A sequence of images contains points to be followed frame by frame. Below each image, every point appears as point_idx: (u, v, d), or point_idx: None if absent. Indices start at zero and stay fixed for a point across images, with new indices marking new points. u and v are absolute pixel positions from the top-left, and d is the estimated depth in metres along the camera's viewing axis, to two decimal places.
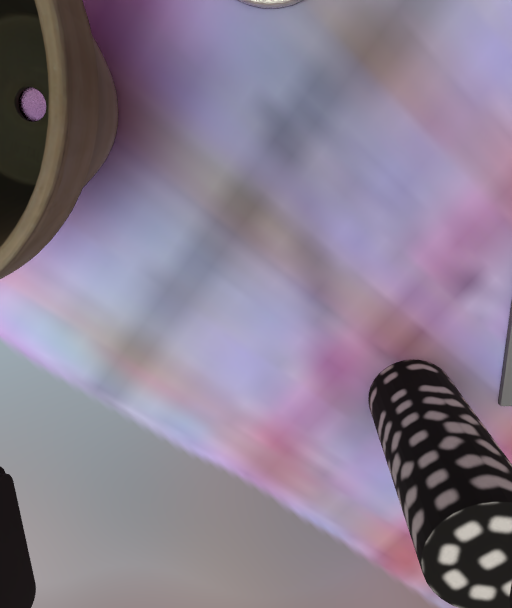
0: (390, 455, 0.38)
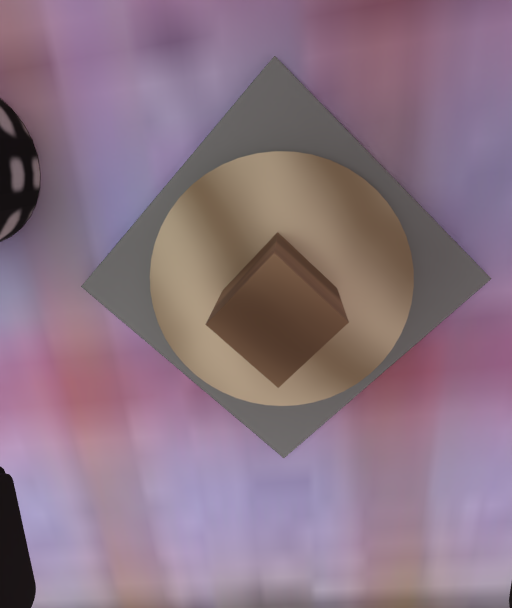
0: None
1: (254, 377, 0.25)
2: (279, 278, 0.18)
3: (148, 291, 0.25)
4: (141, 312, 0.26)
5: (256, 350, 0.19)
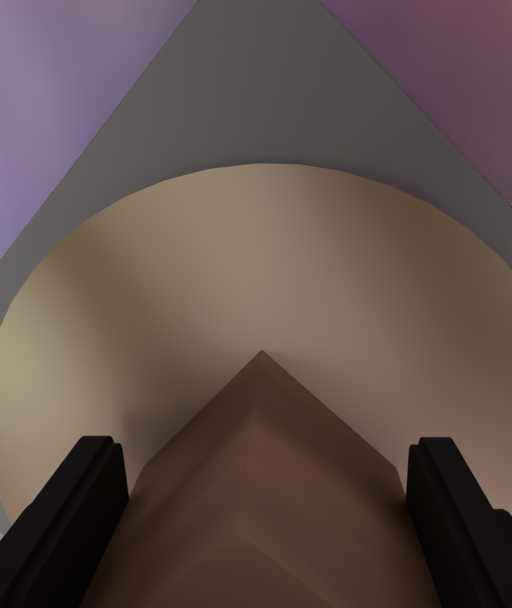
0: None
1: None
2: (256, 602, 0.05)
3: None
4: None
5: None
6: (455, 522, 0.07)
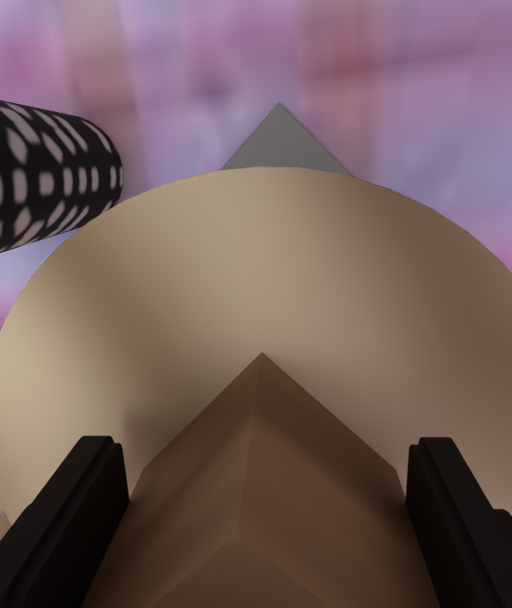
0: None
1: None
2: (256, 604, 0.05)
3: None
4: None
5: None
6: (455, 522, 0.07)
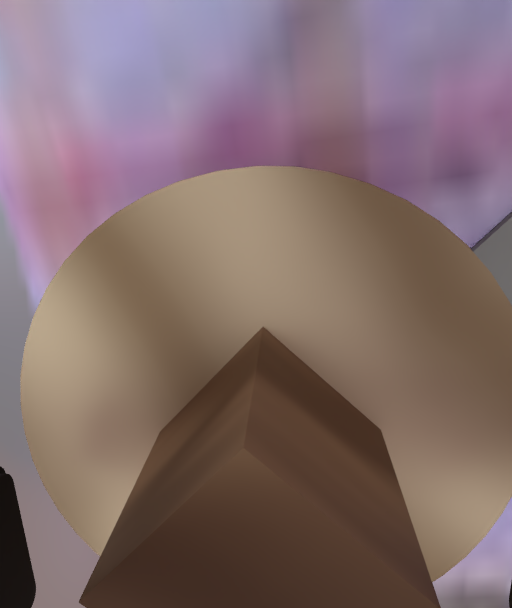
0: None
1: None
2: (259, 506, 0.07)
3: None
4: None
5: None
6: None
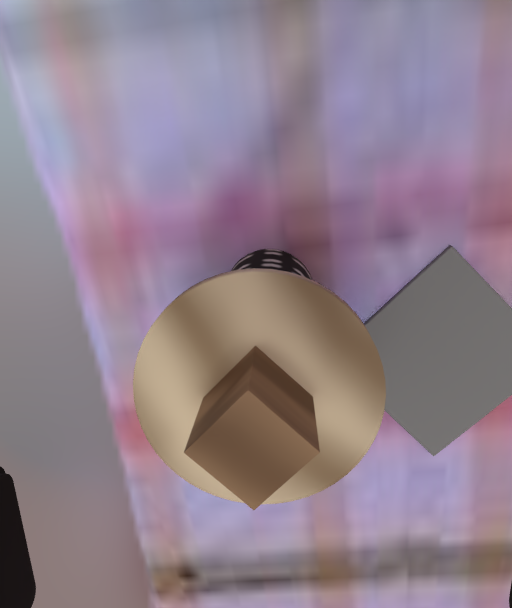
0: None
1: None
2: (253, 412, 0.19)
3: None
4: None
5: (232, 476, 0.20)
6: None
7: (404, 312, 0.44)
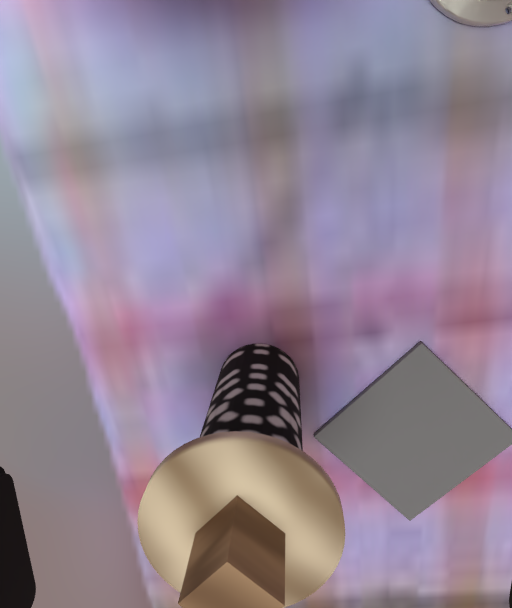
0: (220, 401, 0.39)
1: None
2: (231, 577, 0.24)
3: (348, 439, 0.51)
4: (343, 449, 0.51)
5: None
6: None
7: (380, 398, 0.49)
